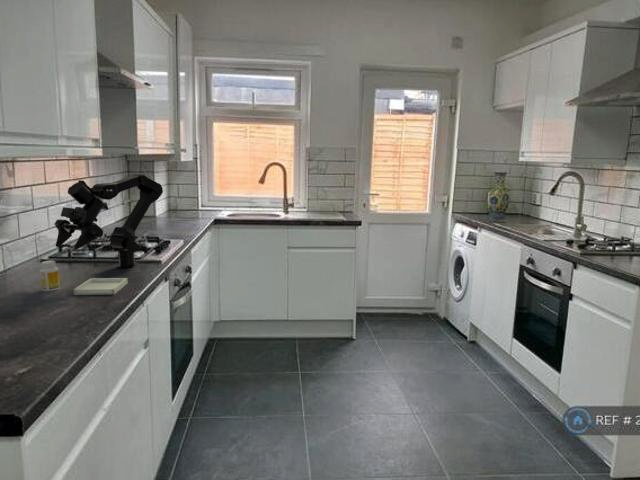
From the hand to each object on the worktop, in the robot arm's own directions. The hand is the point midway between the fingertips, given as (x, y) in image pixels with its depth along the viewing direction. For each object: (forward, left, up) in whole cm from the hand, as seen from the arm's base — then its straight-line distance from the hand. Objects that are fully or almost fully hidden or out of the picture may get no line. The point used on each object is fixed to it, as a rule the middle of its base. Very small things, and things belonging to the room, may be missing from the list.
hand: (65, 247), depth 167 cm
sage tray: (+6, +14, -13) cm, 20 cm away
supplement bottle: (+6, -3, -13) cm, 15 cm away
